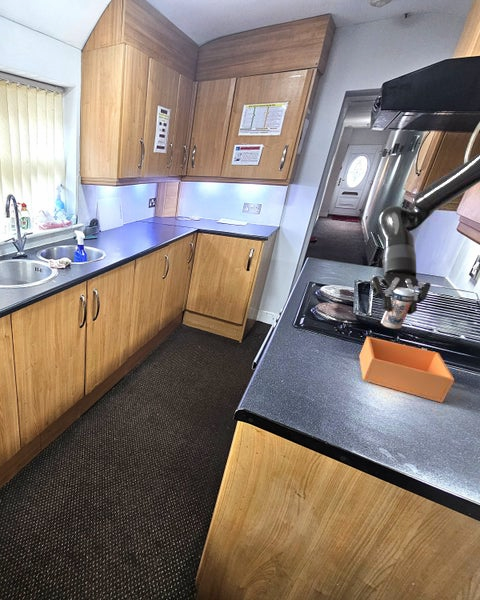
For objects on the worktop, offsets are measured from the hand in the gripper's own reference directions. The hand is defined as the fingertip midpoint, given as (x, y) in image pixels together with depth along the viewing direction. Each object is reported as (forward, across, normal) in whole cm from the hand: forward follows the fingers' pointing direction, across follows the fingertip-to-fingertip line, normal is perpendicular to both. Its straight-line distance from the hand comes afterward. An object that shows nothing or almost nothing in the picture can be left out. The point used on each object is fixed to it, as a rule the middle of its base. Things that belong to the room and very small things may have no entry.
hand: (399, 311), depth 97 cm
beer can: (+3, 0, +5) cm, 6 cm away
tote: (+21, -1, -1) cm, 21 cm away
